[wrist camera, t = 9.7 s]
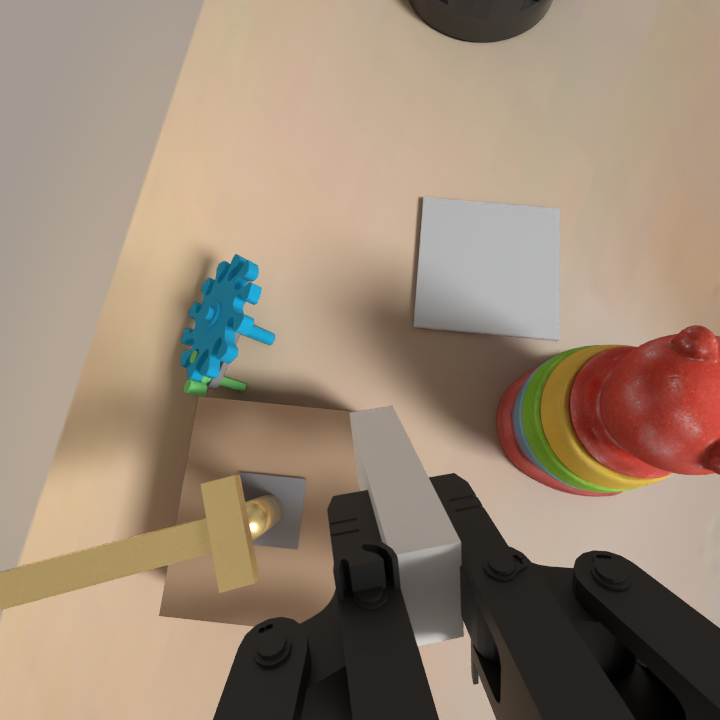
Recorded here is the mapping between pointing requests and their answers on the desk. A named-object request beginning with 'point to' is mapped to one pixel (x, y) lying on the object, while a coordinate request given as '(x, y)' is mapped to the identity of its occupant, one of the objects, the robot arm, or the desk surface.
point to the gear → (221, 326)
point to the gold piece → (159, 549)
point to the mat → (489, 269)
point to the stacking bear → (617, 415)
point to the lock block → (263, 477)
